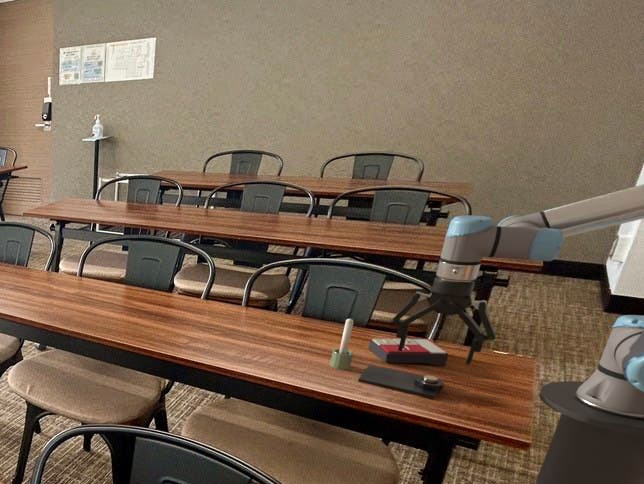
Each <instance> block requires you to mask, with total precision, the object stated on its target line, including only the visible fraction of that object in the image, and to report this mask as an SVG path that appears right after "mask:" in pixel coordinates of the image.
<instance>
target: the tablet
mask: <svg viewBox="0 0 644 484" xmlns="http://www.w3.org/2000/svg"><path fill="white" fill-rule="evenodd" d="M424 376H425V375H419V374H415V373H410V372H406V371H400V370H395V369H391V368H387V367H381V366H378V365H377V366H376V365H373V364H372V365H371V364H368V366H366V368H365V370H364V371H363V372H362V374H361V375H360V376H359V377H358V380H357V382H358V383H363V384H367V385H371V386H375V387H379V388H383V389H387V390H391V391H396V392H399V393H404V394H408V395H413V396H417V397H422V398H425V399H431V400H435V397H436V396H437V393H438V391H442V390H443V389H444V386H445V381H443V380H442V379H439V378H438V380H437V383H436V384H430V383H426V382H424V381H423V378H424Z"/></svg>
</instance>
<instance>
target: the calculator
mask: <svg viewBox="0 0 644 484" xmlns="http://www.w3.org/2000/svg"><path fill="white" fill-rule="evenodd" d="M400 340H401V338H372V339H370V340H369V343H368V350H369V351H371V353H373V354H374V355H376V357H378V358H379V359H380V360H381V361H383V362H384V363H388V364H427V365H429V366H446V365H447V362H448V359H449V353H448V352H446V351H445V350H444V349H442V348H440V347H439V346H438V345H436V344H435V343H433V342H431V341H430V340H429V339H427V338H426V339H424V338H422V339H421V338H419V339H417V338H416V339H414V338H413V339H412V338H406V341H405V345H404V348H403V350H402V351H398V348H399V344H400Z"/></svg>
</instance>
